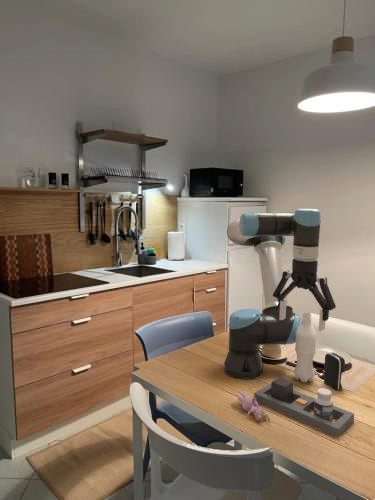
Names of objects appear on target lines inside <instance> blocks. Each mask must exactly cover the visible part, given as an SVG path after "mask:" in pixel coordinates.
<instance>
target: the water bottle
mask: <svg viewBox="0 0 375 500" xmlns="http://www.w3.org/2000/svg"><path fill="white" fill-rule="evenodd" d="M300 320H301V321H300V326H299V328H298V329H297V331H296V342H295V347H294V351H295V352H296V364H295V367H294V369H293V373H294V376H295V379H296V380H299V381H300V382H302V383H307V382H312V381H313V380H314V377H315V370H314V364H313V361H314V357H315V355H316V352H317V351H316V350H317V349H316V345H317V344H316V343H317V333H316V330H315V328H314V326H313V324H312V321H313V320H312V313H311V312H310V311H303V312H302V316H301V318H300Z"/></svg>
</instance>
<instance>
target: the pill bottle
mask: <svg viewBox="0 0 375 500" xmlns="http://www.w3.org/2000/svg"><path fill="white" fill-rule="evenodd" d="M332 395H333V393H332V391H331V390H329V389H328V388H322V387H321V388H318V389H317V392H316V396H315V397H314V398H315V402H314V409H313V414H314V415H316V416H318V417H321V418H323V419H326V420H328V421H330V422H333V418H334V417H333V406H334V399H332V398H333V397H332Z"/></svg>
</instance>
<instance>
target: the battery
mask: <svg viewBox="0 0 375 500" xmlns="http://www.w3.org/2000/svg"><path fill="white" fill-rule="evenodd" d="M345 372H346V361H345V358H343V356H341V355H339V354H337V353H335V352H329V353H328V352H327V353H326V354H325V355H324V373H323V375H324V377H323V378H324V379H323V383H325V384H326V385H327V386H329V387H330V388H332V389H333V390H336V391H339V390H342V388H343V386H342V383H341V382H342V380H341V379H342V375H343V374H344V373H345Z"/></svg>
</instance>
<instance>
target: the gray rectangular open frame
mask: <svg viewBox="0 0 375 500" xmlns="http://www.w3.org/2000/svg"><path fill="white" fill-rule="evenodd" d="M254 397H255V398H256V401H257V403H258V404H262V405H264V406H265V407H269V408H271V409H273V410H275V411H277V412H279V413H282V414H284V415H286V416H289V417H291V418H293V419H295V420H297V421H300V422H302V423H305V424H306V425H309V426H311V427H313V428H316V429H318V430H320V431H322V432H324V433H327V434H328V435H332V436H333V437H334V438H335V437H336V438H339V437H340V436H341V435H342V434H343V433H344V432H345V431H346V429H348V428H349V427H350V426H351V425H352V424H353V423H354V421H355V413H353V412H351V411H349V410H346V409H343V408H341V407H339V406H336V405H333V418H335V419H337V420H336V421H334V422H333V421H332V422H330V421H328V420H326V419H323V418H321V417H318V416H316V415H314V413H311V410H314V402H315V397H312V396H310V395H308V394H305V393H303V392H299V391H297V390H294V381H293V380H289V379H287V378H285V377H282V376H278V377H276V378H275V379H273V380H272V381H271V383H269V384H267V385H265V386H264V387H262V388H260V389H259V390H257V391H255V392H254V393H253V398H254Z"/></svg>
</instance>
